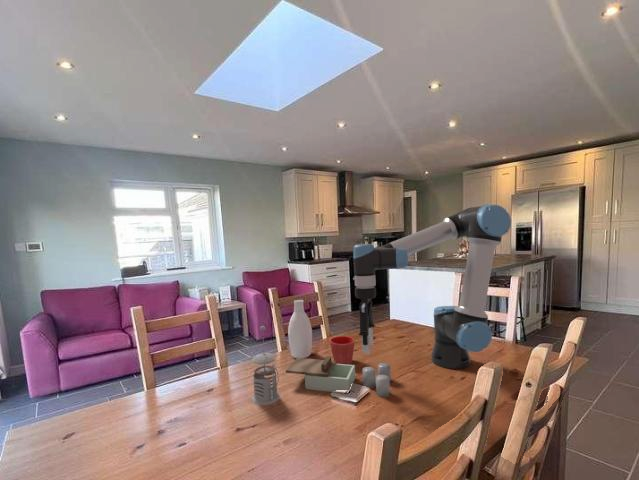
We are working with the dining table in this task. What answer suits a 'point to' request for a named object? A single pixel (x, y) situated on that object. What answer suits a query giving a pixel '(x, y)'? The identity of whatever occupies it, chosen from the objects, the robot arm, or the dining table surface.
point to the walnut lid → (312, 366)
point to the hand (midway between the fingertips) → (367, 348)
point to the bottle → (300, 332)
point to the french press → (265, 379)
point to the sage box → (332, 379)
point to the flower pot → (342, 349)
